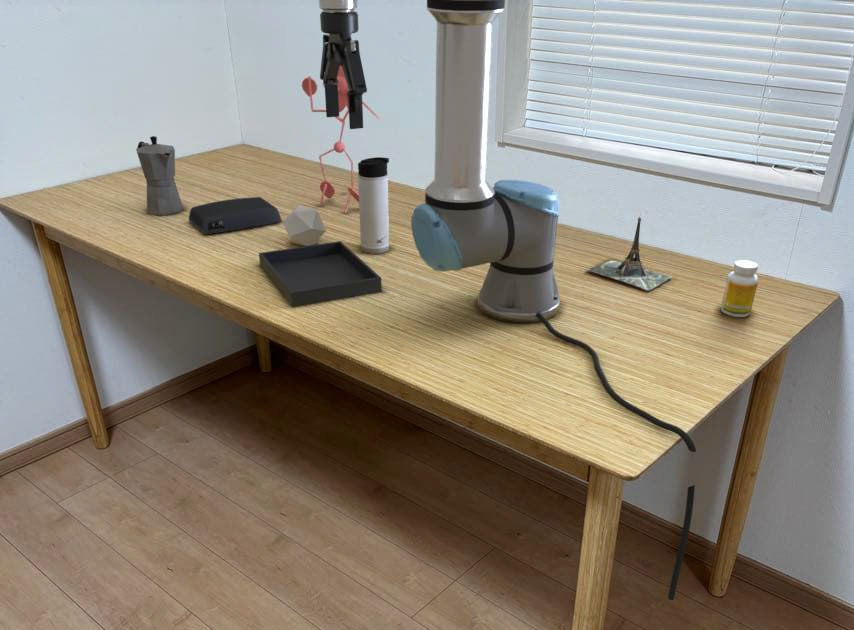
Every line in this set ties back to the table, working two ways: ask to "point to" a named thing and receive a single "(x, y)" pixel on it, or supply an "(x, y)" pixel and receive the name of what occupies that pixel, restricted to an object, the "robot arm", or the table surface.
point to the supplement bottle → (740, 289)
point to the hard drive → (233, 215)
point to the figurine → (310, 89)
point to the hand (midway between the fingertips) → (344, 122)
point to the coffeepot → (159, 177)
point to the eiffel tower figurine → (632, 269)
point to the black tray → (319, 273)
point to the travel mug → (373, 205)
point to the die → (304, 226)
